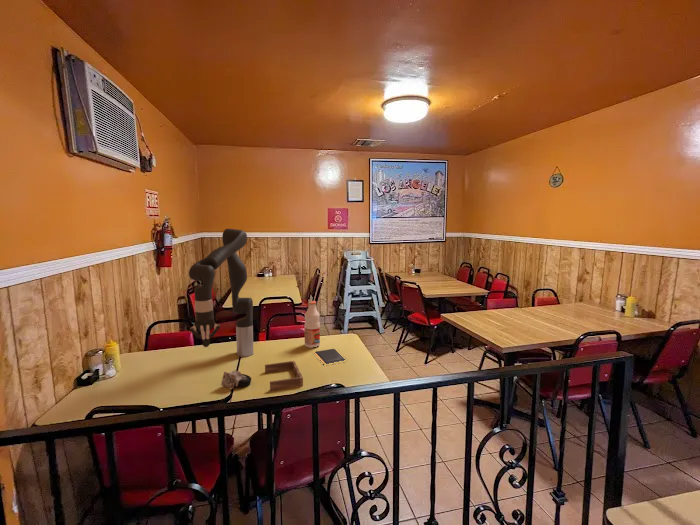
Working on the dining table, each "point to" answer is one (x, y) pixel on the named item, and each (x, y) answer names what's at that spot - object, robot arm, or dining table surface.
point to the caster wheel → (235, 379)
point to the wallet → (329, 356)
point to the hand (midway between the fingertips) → (206, 346)
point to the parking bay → (285, 382)
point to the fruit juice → (312, 326)
